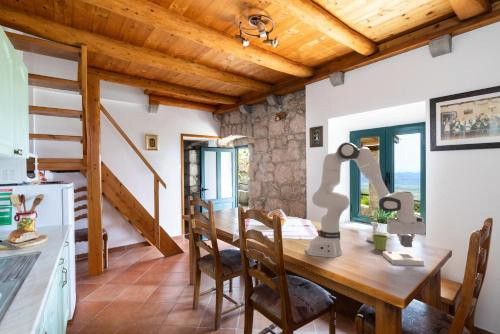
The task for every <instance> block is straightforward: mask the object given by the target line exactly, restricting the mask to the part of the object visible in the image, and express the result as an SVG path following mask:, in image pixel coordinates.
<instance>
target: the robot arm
mask: <svg viewBox="0 0 500 334" xmlns="http://www.w3.org/2000/svg"><path fill="white" fill-rule="evenodd" d="M351 160H352V161H354V162H355V163H356V164H357V167H358V169H359V170H360V173H361V174H362V176H363V177H364V178H365V179H367V180H368V181H370V183H371V184H372V186H373V187H374V189H375V190H376V191H375V192H376V194H377V196H378V207H379V209H381V210H382V211H383V212H387V213H391V212H396V217H389V218H387V219H386V224H387V225H386V232H387V234H389V235H396V236H397V237H398V241H399V242H403V238H401V237H400V236H401V234H408V235H410V236H411V237H412V243H414V239H415V237H416V235H425V234H426V232H427V229H426V224H425V223H424V222H425V218H423V217H421V216H418V215H415V211H414V207H415V200H414V199H415V198H414V195H413V193H412V192H411V191H408V190H404V189H403V190H402V189H398V190H396V191H395V192H392V193H391V192H390V191H389V189H388V187H387V186H386V184H385V182H384V180H383V177H382V171H381V167H380V164H379V162H378V160H377V159H376V157H375V155H374V154H373V152H372V151H371V150H370V148H368V147H360V148H359V147H358V146H356V144H353V143H352V142H343V143H341V144H340V145H339V146H338V147H337V150H336V151H335V153H332V152H331V153H328V154H326V155H325V156H324V158H323V164H322V176H321V183H320V186H319V188H318V189H317V191H316V192H314V193H313V194H312V198H311V200H312V203H313V205H314V206H317V207H319V208H320V209H321V208H323V209H327V210H326V214H324V215H323V216H321V219H320V224H321V225H320V226H321V229H316V233H317V236H316V237H314V238H313V239H311V240H310V241H309V246H308V247H306V248H305V253H306V254H307V255H308V256H314V257H323V258H333V259H335V258H337V257H339V256H342V255H343V251H342V248H341V231H340V220H341V216H342V214H343V212H344V211H346V210H347V209H348V208H349V206H350V200H349V197H348V195H346V194H343V193H340V192H335V191H334V189H335V187H337V186H339V184H340V183H341V172H342V171H341V169H342V167H341V166H342V163H344V162H349V161H351Z"/></svg>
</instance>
